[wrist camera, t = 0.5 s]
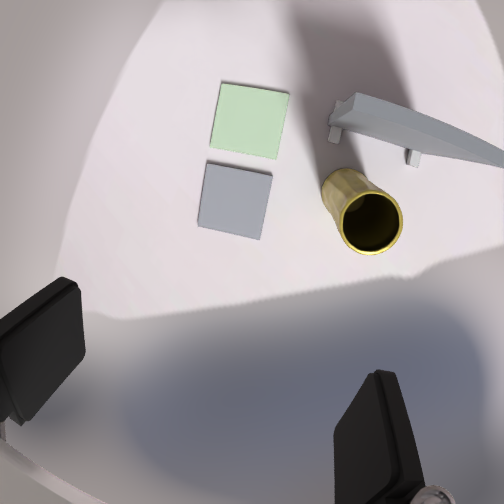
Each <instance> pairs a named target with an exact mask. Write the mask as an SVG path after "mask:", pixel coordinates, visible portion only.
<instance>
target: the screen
mask: <svg viewBox="0 0 504 504" xmlns="http://www.w3.org/2000/svg"><path fill="white" fill-rule="evenodd" d="M328 125H329V126H331V128H330V133H329V138H328V142H332V143H336V144H339V141H340V136H341V132H342V129H344V130H348V131H352V132H355V133H359V134H362V135H366V136H369V137H373V138H376V139H379V140H383V141H386V142H389V143H392V144H395V145H398V146H401V147H404V148H407V149H410V150H409V154H408V159H407V163H406V164H407V165H410V166H413V167H416V168H418V166H419V162H420V158H421V153H422V154H429V155H436V156H442V157H448V158H454V159H460V160H466V161H471V162H476V163H481V164H486V165H491V166H496V167H500V168H504V151H503V150H501V149H499V148H498V147H496V146H494V145H492V144H490V143H488V142H486V141H484V140H482V139H480V138H478V137H476V136H473V135H471V134H469V133H467V132H465V131H463V130H460V129H458V128H456V127H454V126H451V125H449V124H447V123H444V122H442V121H440V120H437V119H435V118H432V117H430V116H427V115H424V114H422V113H419V112H417V111H414V110H411V109H408V108H406V107H403V106H400V105H397V104H394V103H391V102H388V101H385V100H382V99H379V98H375V97H372V96H369V95H365V94H362V93H358V92H355V93H354V94H353V95H352V96H351V97H350V98H349V99H347V100H346V101H345V102H343V101H339V100H337V101H336V104H335V109H334V112H333V113H332V114H331V115H330V116H329V121H328Z"/></svg>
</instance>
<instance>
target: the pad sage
mask: <svg viewBox="0 0 504 504" xmlns="http://www.w3.org/2000/svg"><path fill="white" fill-rule="evenodd" d="M288 100H289V94H286V93H280V92H275V91H269V90H263V89H257V88H251V87H244V86H237V85H229V84H222V85H221V90H220V95H219V100H218V106H217V111H216V116H215V121H214V127H213V132H212V138H211V143H210V148H216V149H222V150H227V151H233V152H238V153H244V154H249V155H254V156H259V157H264V158H269V159H274V160H276V159H277V154H278V149H279V144H280V139H281V134H282V129H283V124H284V120H285V115H286V110H287V105H288Z"/></svg>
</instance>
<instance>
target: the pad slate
mask: <svg viewBox="0 0 504 504" xmlns="http://www.w3.org/2000/svg"><path fill="white" fill-rule="evenodd" d="M272 178H273V176H270V175H266V174H261V173H256V172H251V171H246V170H241V169H236V168H231V167H225V166H220V165H214V164H209V163H208V164H207V167H206V173H205V179H204V186H203V192H202V199H201V205H200V212H199V219H198V226H199V227H203V228H208V229H212V230H217V231H221V232H226V233H230V234H234V235H239V236H243V237H248V238H252V239H256V240H260V236H261V231H262V227H263V222H264V217H265V212H266V207H267V202H268V198H269V193H270V188H271V183H272Z"/></svg>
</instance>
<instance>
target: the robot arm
mask: <svg viewBox="0 0 504 504" xmlns="http://www.w3.org/2000/svg"><path fill="white" fill-rule="evenodd" d="M85 350H86V349H85V340H84V331H83V318H82V302H81V290H80V289H79V288H78V285H77V283H76V282H75V281H72V280H70V279H67V278H65V277H59V278H58V279H56V280H55V281H53V282H52V283H50V284H49V285H47V286H46V287H45V288H43V289H42V290H40V291H39V292H37V293H36V294H34V295H33V296H32V297H30V298H29V299H27V300H26V301H25V302H23V303H22V304H20V305H19V306H18V307H16V308H15V309H14V310H12V311H11V312H10V313H8V314H7V315H6V316H4V317H3V318H2V319H0V504H107V503H105V502H103V501H101V500H99V499H97V498H95V497H93V496H91V495H89V494H87V493H85V492H83V491H81V490H79V489H77V488H76V487H74V486H72V485H70V484H68V483H67V482H65V481H63V480H61V479H60V478H58V477H56V476H55V475H53V474H51V473H50V472H48V471H47V470H45V469H43V468H42V467H40V466H39V465H37V464H36V463H34V462H33V461H31V460H30V459H28V458H27V457H25V456H24V455H23V454H21V453H20V452H18V451H17V450H16V449H14V448H13V447H12V446H10V445H9V444H8V443H6V430H5V420H6V418H7V417H8V416H9V417H10V419H12V420H13V421H15V422H16V423H17V424H19V425H20V426H22V425H23V424H24V422H25V421H30V420H31V419H32V418H33V417H34V416H35V414H36V413H37V412H38V411H39V409H40V408H41V407H42V406H43V405H44V404H45V402H46V401H47V400H48V399H49V398H50V397H51V395H52V394H53V393H54V392H55V391H56V390H57V388H58V387H59V386H60V385H61V384H62V383H63V381H64V380H65V379H66V378H67V377H68V375H70V373H71V372H72V371H73V370H74V369H75V368H76V366H77V365H78V364H79V363H80V362H81V361H82V360H83V358H84V356H85V352H86V351H85ZM334 468H335V469H334V471H335V472H334V474H335V504H455V501H454V498H453V497H452V495H451V494H450V493H449V492H448V491H447V490H446V489H445V488H442V487H440V486H436V485H430V486H425V482H424V477H423V472H422V468H421V463H420V459H419V455H418V451H417V447H416V443H415V439H414V435H413V431H412V428H411V424H410V420H409V417H408V414H407V410H406V407H405V403H404V400H403V397H402V393H401V390H400V386H399V383H398V380H397V377H396V375H395V373H394V372H390V371H384V370H376V371H375V372H374V373H370V374H368V376H367V378H366V379H365V381H364V383H363V384H362V386H361V388H360V389H359V391H358V393H357V394H356V396H355V398H354V399H353V401H352V402H351V404H350V406H349V407H348V409H347V410H346V412H345V413H344V415H343V416H342V418H341V419H340V421H339V423H338V424H337V426H336V427H335V431H334Z"/></svg>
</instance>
